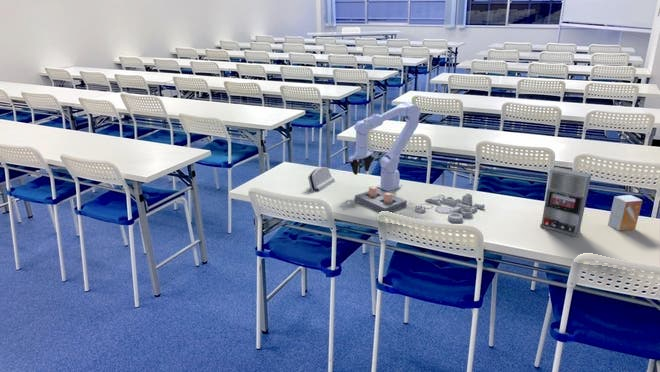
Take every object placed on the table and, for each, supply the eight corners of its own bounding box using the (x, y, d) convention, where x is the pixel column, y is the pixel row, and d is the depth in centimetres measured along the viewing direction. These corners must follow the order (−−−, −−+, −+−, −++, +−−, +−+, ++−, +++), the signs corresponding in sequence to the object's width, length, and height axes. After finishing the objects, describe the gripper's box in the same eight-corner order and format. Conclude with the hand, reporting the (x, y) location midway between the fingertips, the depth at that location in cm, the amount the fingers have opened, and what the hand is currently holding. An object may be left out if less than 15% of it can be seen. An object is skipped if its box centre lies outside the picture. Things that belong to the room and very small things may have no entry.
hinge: (319, 191, 233) (313, 172, 231) (311, 192, 236) (305, 174, 234) (335, 181, 247) (329, 163, 245) (327, 182, 249) (322, 165, 248)
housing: (354, 200, 222) (354, 195, 222) (376, 193, 231) (376, 188, 230) (384, 213, 208) (385, 208, 207) (406, 205, 216) (406, 200, 215)
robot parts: (408, 211, 213) (409, 200, 211) (437, 195, 230) (438, 185, 228) (458, 226, 197) (459, 215, 195) (485, 208, 214) (486, 197, 212)
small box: (619, 231, 190) (626, 202, 186) (607, 224, 196) (613, 196, 191) (635, 229, 192) (643, 200, 187) (623, 222, 198) (630, 194, 193)
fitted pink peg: (387, 203, 218) (388, 191, 216) (394, 206, 215) (394, 194, 213) (381, 206, 216) (382, 193, 214) (387, 208, 213) (388, 196, 211)
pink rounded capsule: (373, 197, 226) (373, 185, 224) (378, 199, 223) (379, 188, 221) (366, 199, 223) (367, 187, 221) (372, 201, 220) (372, 190, 218)
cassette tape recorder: (539, 227, 194) (549, 170, 185) (544, 222, 198) (554, 166, 190) (575, 237, 186) (587, 178, 177) (580, 232, 190) (592, 174, 181)
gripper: (366, 141, 234) (366, 167, 238) (344, 146, 225) (344, 173, 230) (376, 144, 228) (375, 170, 233) (354, 150, 220) (354, 177, 225)
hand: (361, 172), depth 231 cm, fingers open, 7 cm apart
